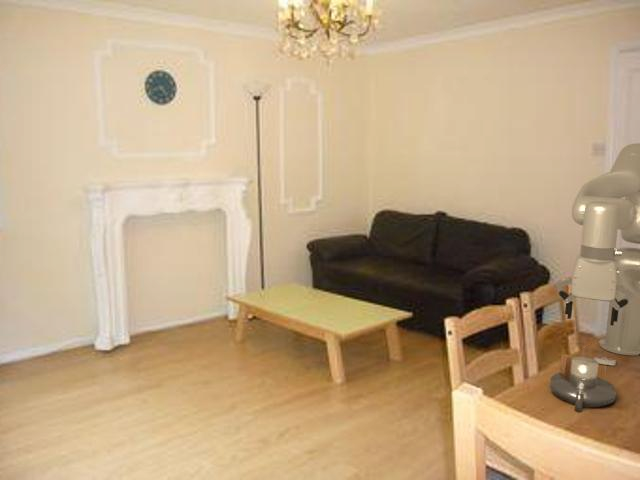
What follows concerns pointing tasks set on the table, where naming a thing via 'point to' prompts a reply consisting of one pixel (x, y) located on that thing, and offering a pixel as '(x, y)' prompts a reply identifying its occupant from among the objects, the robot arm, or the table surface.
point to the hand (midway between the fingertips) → (590, 320)
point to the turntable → (565, 390)
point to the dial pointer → (579, 401)
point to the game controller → (605, 361)
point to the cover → (584, 373)
